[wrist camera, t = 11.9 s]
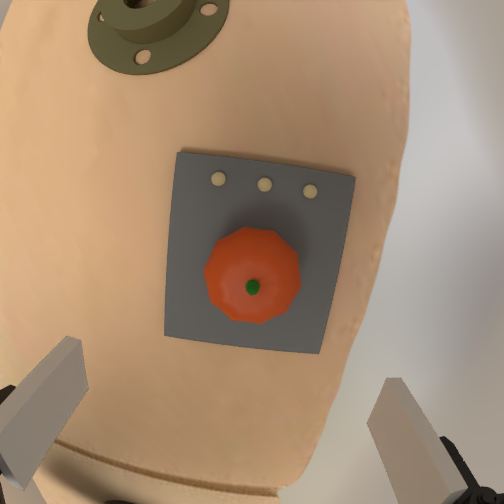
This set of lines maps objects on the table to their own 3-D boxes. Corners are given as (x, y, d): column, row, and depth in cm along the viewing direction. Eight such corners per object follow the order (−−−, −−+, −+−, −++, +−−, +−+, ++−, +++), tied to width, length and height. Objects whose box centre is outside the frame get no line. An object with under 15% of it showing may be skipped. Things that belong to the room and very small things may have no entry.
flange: (210, 62, 22) (237, -62, 18) (55, 69, 21) (96, -48, 18) (216, 78, 26) (239, -38, 23) (78, 80, 26) (111, -29, 22)
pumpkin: (213, 216, 28) (200, 232, 21) (303, 229, 28) (320, 249, 21) (205, 296, 30) (191, 333, 23) (288, 307, 30) (298, 347, 23)
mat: (317, 349, 32) (319, 356, 31) (166, 331, 32) (163, 337, 31) (352, 176, 28) (356, 177, 27) (179, 152, 28) (176, 151, 26)
